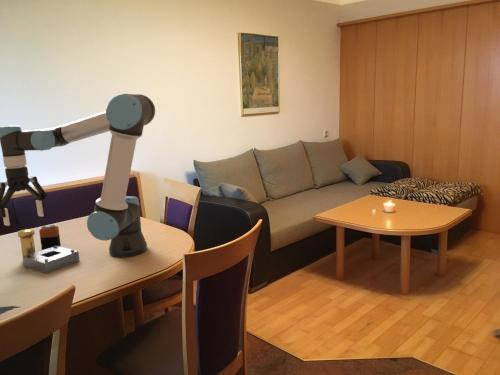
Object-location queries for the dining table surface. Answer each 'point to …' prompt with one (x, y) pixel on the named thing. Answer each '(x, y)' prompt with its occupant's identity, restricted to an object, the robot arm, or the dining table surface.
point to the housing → (51, 259)
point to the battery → (49, 237)
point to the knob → (27, 241)
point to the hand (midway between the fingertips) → (24, 220)
